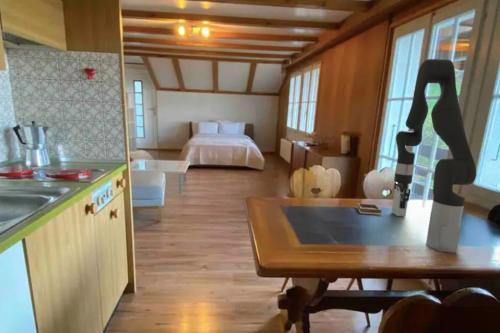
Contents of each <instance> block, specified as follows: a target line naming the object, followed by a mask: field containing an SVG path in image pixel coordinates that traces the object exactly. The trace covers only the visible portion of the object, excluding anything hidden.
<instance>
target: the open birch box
mask: <svg viewBox="0 0 500 333" xmlns="http://www.w3.org/2000/svg"><path fill="white" fill-rule="evenodd" d="M356 209H357V211H359V213H360V214H366V215H367V214H368V215H379V216H381V215H382V209H381V208H380V207H379V206H378V204H373V203H362V202H361V203H359V202H358V203H357V202H356Z"/></svg>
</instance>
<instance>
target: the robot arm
mask: <svg viewBox="0 0 500 333" xmlns="http://www.w3.org/2000/svg"><path fill="white" fill-rule="evenodd" d="M418 68H419V69H418V71H417V77H416V82H415V87H414V92H413V95H412V96H413V98H412V101H411V102H412V103H411V107H410V109H409V112H408V115H407V118H406V120H405V127H407V128H409V129H410V130H400V131H399V132H397V133H396V136H395V141H396V148H397V160H396V165H395V171H394V180H393V181H394V183H393V191H394V190H395V189H396V190H399V192H403V194H401V193H400V196H401V201H400V208H401V209H405V205H406V201H408V202H409V200H410V196H411V191H412V190H411V188H409V186H408V185H410V184H412V183H413V178H414V177H413V175H414V166H415V165H414V164H415V157H416V154H415V152H414V151H412V150H411V151H410V150H407V148H406V147H417V146H419V145H420V144H421V142H422V141H423V128H424V124H425V121H426V119H427V117H428V115H429V114H428V113H429V105H428V102H427V98H426V89H427V85H428V84H439V87H440V95H439V97H438V99H437V101H436V102H435V104H434V105H433V107H432V109H431V111H430V112H431V113H430V114H431V116H430V117H431V121H432V122H431V123H432V127H433V130H434V133H435V134H436V135H437V136H438V137H439V138H440V139H441V140H442V141H443V142H444V143H445V145H446V146H447V147H448V149H449V151H450V153H451V155H452V158H450V157H449V158H441V159H439V160H438V162H436V164H435V168H434V174H433V185H432V194H433V196H432V198H433V199H432V204H431V211H430V216H429V224H428V227H427V228H428V229H427V234H426V235H427V236H426V242H425V244H426V245H427V246H428V247H429V248H431V249H433V250H435V251H437V252H440V253H441V252H442V253H451V254H452V253H453V254H456V253H457V251H458V248H459V247H458V246H459V241H460V240H459V239H460V237H461V236H460V235H461V230H462V228H461V223H462V217H463V211H464V207H465V202H466V199H465V197H464V196H463V195H461V194H458V193H456V192H454V191H453V189H454V188H453V186H454V185H456V186H469V185H471V184H473V183H474V182H475V180H476V177H477V168H476V167H477V166H476V162H475V161H474V157H473V155H472V152H471V148H470V146H469V143H468V138H467V135H466V130H465V128H464V127H465V126H464V122H463V121H464V119H463V117H462V116H463V115H462V110H461V105H460V103H459V102H460V101H459V97H458V91H457V83H456V70H455V66H454V63H453V61H452V60H451V59H449V58H448V59H447V58H428V59H425V60H424V61H423V62H421V64H420V67H418ZM402 196H403V198H402Z"/></svg>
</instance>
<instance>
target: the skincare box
mask: <svg viewBox="0 0 500 333" xmlns="http://www.w3.org/2000/svg"><path fill="white" fill-rule="evenodd" d="M400 193H401V194H403V192H399V190H396V189H395V190H394V189H393V197H392V198H393V199H392V206H391V213H392V214H394V215H395V216H397V217H406V216H407V211H408V210H407V209H408V202H409V201H406V205H405V209H401V208H400V201H401V196H400ZM402 198H403V196H402Z"/></svg>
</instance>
